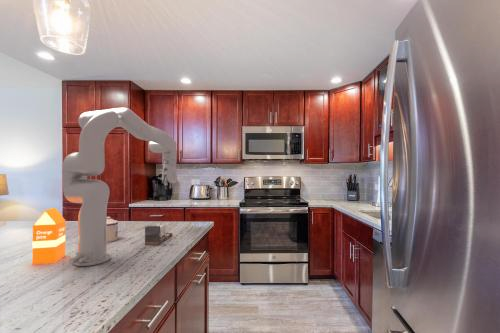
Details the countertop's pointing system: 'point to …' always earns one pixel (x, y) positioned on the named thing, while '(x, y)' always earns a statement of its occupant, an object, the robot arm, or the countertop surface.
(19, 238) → the countertop surface
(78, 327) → the countertop surface
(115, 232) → the teacup with lid
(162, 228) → the gauge slider
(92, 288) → the countertop surface
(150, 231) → the gauge base
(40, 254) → the orange juice
